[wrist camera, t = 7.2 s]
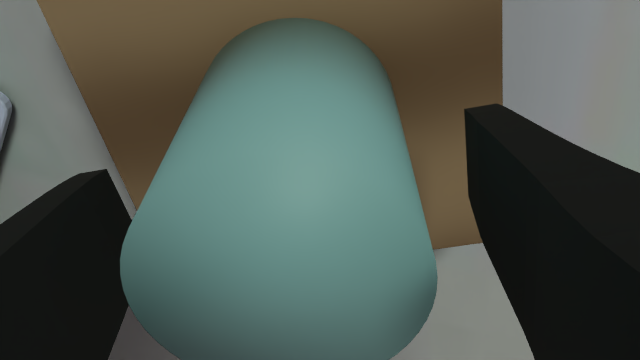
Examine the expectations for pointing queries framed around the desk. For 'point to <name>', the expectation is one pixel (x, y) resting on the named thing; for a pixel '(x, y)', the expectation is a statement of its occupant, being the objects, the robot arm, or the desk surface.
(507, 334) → the desk surface
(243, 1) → the block
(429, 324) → the desk surface
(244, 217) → the teal tapered rounded part
